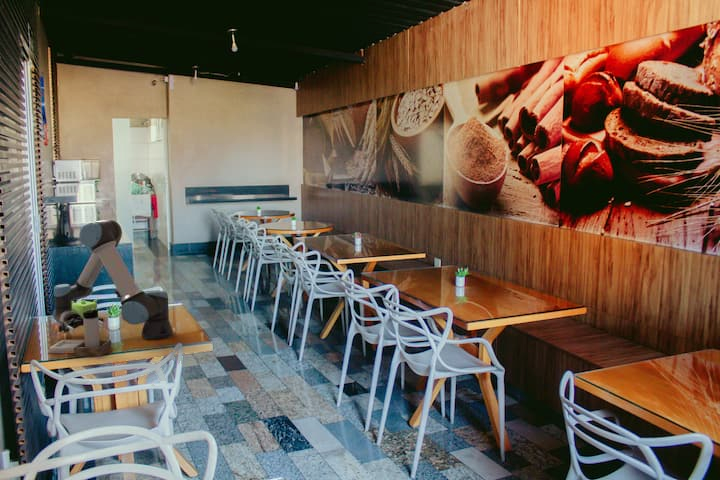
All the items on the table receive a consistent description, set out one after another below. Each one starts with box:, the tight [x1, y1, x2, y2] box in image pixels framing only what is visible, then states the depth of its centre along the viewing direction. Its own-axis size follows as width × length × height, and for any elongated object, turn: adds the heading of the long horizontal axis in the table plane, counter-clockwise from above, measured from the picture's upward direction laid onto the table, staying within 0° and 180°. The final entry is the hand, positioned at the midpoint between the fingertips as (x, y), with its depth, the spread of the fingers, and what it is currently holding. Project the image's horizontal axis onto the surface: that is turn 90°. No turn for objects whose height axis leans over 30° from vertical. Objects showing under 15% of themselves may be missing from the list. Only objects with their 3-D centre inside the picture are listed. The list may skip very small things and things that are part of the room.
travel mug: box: [83, 309, 101, 347], centre depth 268 cm, size 6×7×20 cm
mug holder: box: [73, 339, 113, 358], centre depth 269 cm, size 12×12×4 cm
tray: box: [48, 339, 85, 354], centre depth 274 cm, size 12×12×2 cm
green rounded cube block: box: [72, 299, 98, 318], centre depth 323 cm, size 15×14×11 cm
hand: (88, 328), depth 270 cm, fingers open, 13 cm apart
